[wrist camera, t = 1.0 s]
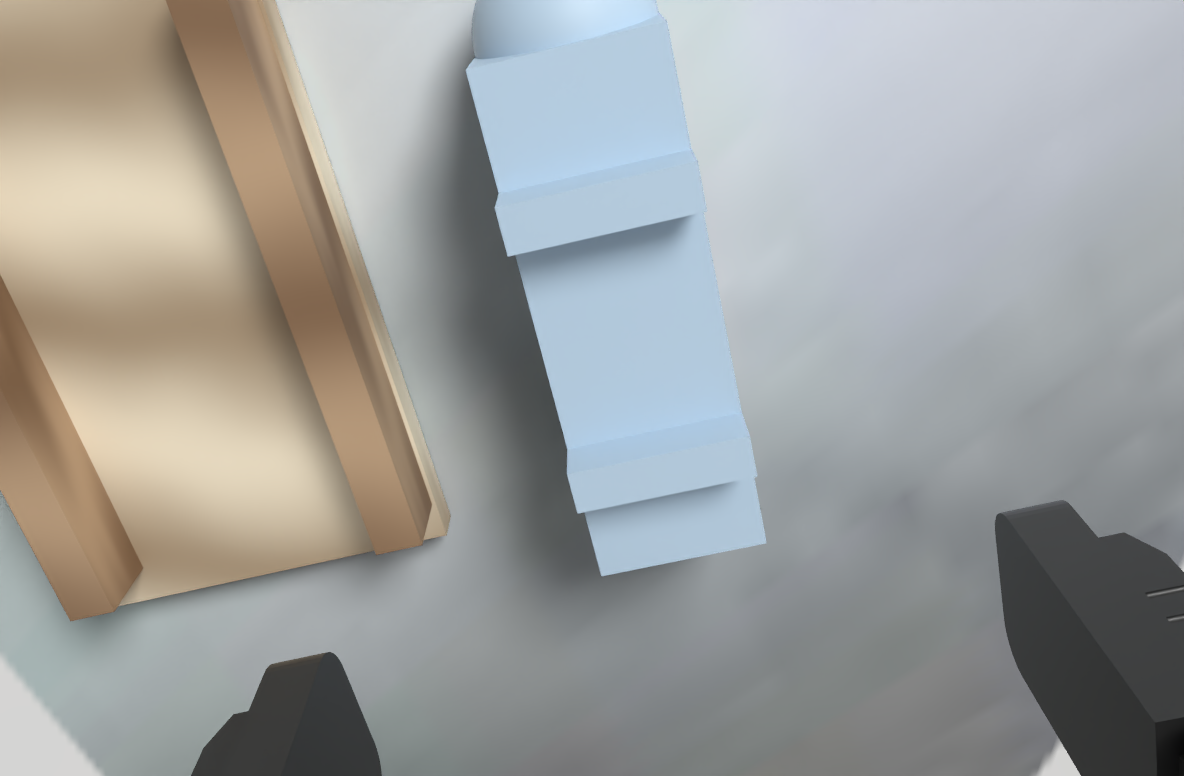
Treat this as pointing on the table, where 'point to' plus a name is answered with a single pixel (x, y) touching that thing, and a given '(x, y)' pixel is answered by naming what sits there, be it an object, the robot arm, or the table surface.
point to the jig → (186, 311)
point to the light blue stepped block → (617, 273)
